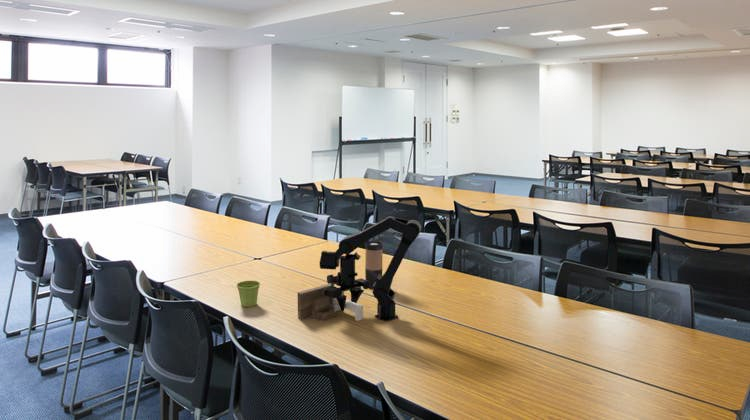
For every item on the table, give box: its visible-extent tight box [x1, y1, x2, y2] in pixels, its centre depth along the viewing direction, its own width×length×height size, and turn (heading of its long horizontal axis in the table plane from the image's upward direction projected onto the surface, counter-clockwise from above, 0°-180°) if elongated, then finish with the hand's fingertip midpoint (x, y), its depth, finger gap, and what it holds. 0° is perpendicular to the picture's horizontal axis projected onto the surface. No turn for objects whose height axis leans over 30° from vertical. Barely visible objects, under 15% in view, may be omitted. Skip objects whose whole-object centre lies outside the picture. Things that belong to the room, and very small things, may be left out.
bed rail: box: [333, 298, 364, 321], centre depth 198 cm, size 14×3×5 cm, turn 44°
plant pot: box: [235, 280, 261, 308], centre depth 208 cm, size 9×9×9 cm
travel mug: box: [364, 240, 383, 290], centre depth 231 cm, size 8×8×20 cm
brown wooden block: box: [297, 283, 336, 322], centre depth 196 cm, size 8×16×10 cm, turn 134°
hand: (347, 309), depth 198 cm, fingers open, 5 cm apart
